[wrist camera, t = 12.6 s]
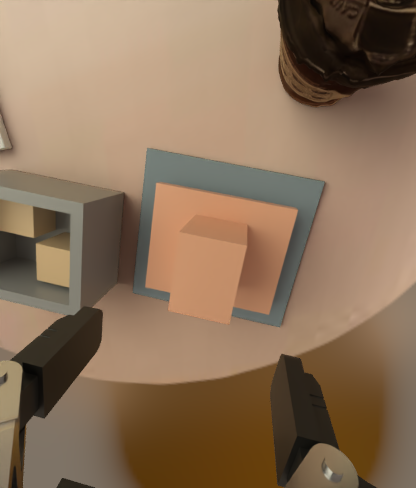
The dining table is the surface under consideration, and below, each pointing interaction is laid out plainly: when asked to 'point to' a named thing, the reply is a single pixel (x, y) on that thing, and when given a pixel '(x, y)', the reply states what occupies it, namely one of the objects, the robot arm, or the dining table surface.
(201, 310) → the lid
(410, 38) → the coffee cup
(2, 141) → the external hard drive
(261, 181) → the mat
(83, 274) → the storage box
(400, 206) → the dining table surface
